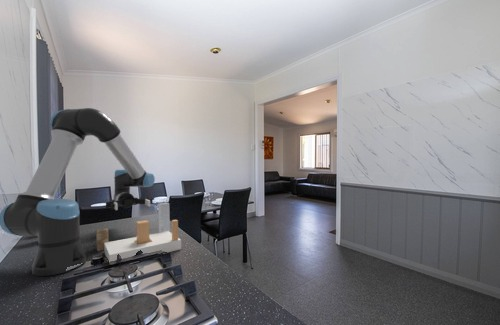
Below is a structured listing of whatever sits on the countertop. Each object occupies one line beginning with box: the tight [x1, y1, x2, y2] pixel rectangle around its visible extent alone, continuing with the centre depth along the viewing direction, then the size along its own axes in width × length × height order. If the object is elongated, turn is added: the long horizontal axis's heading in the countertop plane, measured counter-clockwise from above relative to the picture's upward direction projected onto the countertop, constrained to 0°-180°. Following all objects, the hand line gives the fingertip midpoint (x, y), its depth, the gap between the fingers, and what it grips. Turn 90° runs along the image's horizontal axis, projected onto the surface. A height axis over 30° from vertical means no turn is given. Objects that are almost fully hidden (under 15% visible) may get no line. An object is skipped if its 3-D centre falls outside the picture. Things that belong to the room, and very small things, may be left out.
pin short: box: [95, 227, 110, 252], centre depth 104 cm, size 4×4×8 cm
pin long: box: [158, 202, 171, 233], centre depth 120 cm, size 4×4×16 cm
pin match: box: [135, 220, 150, 245], centre depth 101 cm, size 4×4×12 cm
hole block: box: [103, 219, 182, 261], centre depth 101 cm, size 26×16×12 cm, turn 127°
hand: (133, 205), depth 111 cm, fingers open, 13 cm apart
